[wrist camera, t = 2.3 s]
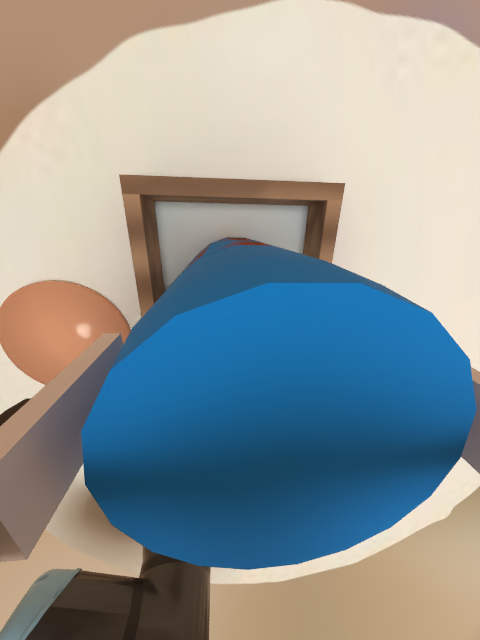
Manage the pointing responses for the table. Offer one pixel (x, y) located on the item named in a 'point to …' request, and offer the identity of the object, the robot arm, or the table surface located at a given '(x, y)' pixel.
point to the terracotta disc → (55, 326)
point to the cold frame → (214, 190)
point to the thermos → (274, 411)
